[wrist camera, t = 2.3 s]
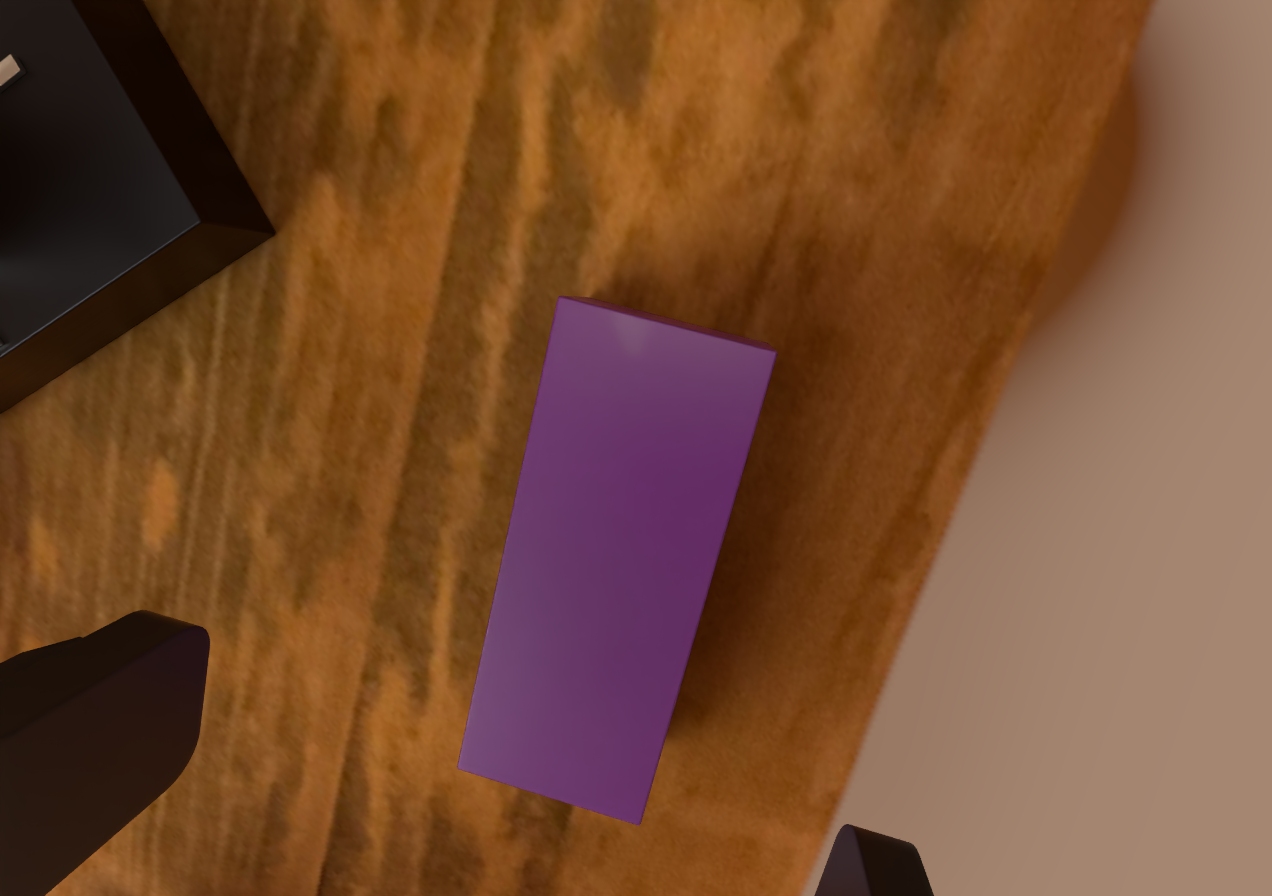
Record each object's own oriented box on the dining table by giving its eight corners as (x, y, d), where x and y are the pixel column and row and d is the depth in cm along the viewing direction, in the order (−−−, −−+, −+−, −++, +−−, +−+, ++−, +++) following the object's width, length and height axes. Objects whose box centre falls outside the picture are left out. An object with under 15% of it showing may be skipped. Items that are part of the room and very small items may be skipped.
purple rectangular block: (586, 296, 16) (558, 295, 14) (769, 343, 16) (778, 351, 13) (495, 702, 19) (456, 769, 16) (652, 750, 18) (639, 827, 16)
